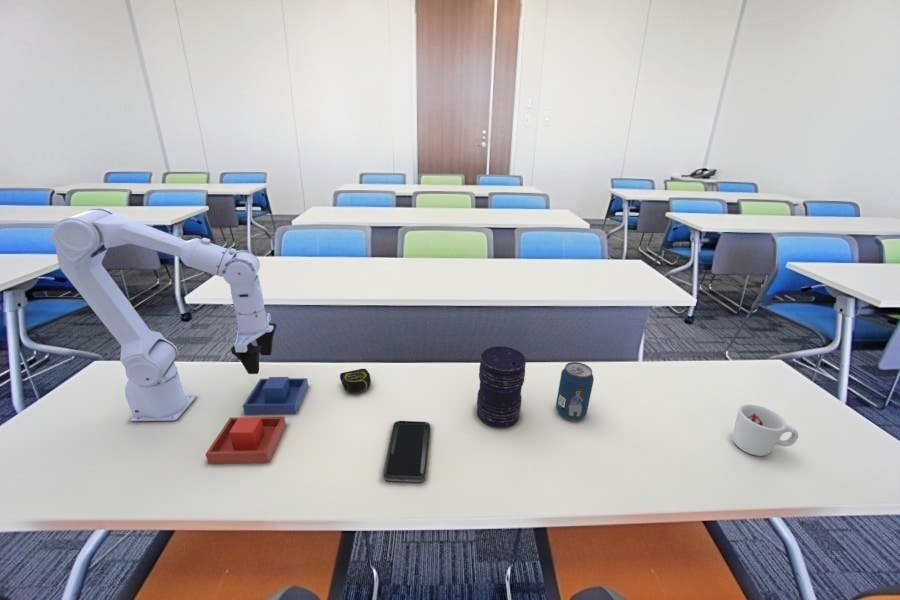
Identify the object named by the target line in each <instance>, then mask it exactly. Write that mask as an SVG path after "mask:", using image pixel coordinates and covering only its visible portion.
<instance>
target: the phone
mask: <svg viewBox="0 0 900 600" xmlns="http://www.w3.org/2000/svg"><path fill="white" fill-rule="evenodd" d="M430 433H431V424H430V422H428V421H417V420H413V421H412V420H397V421H394V423H393V426H392V431H391V434H390V439H389V444H388V448H387V453H386V457H385V462H384V466H383V471H382V474H383V475H382V476H383V479H384V481H386V482H395V483H398V482H400V483H422V482H424V481H425V479H426V475H427V464H428V455H429V454H428V453H429V446H430V445H429V442H430V435H431V434H430Z"/></svg>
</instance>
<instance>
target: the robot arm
mask: <svg viewBox="0 0 900 600" xmlns="http://www.w3.org/2000/svg"><path fill="white" fill-rule="evenodd" d="M48 239H49V240H50V242H51V243H52V244H53V246H54V247H55V251H56V258H57V263H58V266H59V268H60V271H61V272H62V273H63V274H64V276H65V277H66V278H67V279H68V280H69V281H70V284H72V286H73V287H74V288H75V290H76V291H77V292H78V293H79V294H80V296H81V297H82V298H83V300H84V301H85V303H87V304H88V306H89V307H90V308H91V309H92V311H93V312H94V313H95V315H96V316H97V317H98V318H99V320H100V322H102V323H103V325H104V327H106V329H107V330H108V331H109V332H110V334H111V335H112V336H113V337H114V339H115V340H116V341H117V343H119V346H120V357H119V358H120V363H121V364H122V365H123V366H124V369H125V376H126V377H127V382H126V384H125V388H124V395H125V398H126V402H127V404H128V407H129V409H130V413H131V415H132V417H131V418H130V421H131V422H171V421H172V422H174V421H177V420H178V419H179V418H180V417H181V416H182V414H184V412H185V411H186V410H187V409H188V407H189V406H190V405H191V404H192V403H193V401H194V400H195V399H196V397H195V395H186V394H185V392H184V389H183V385H182V381H181V378H180V374H179V372H178V368H177V366H176V364H175V360H176V359H177V357H178V355H179V354H178V353H179V352H178V348H177V346H176V345H175V344H174V343H173V342H172V341H170V340H168V339H166V338H165V337H164V336H163V334H162V333H161V332H160V331H155V330H151V329H150V328H149V327H148V326H147V324H146V323H145V321H144V319H142V317H141V316H140V315H139V313H138V312H137V311H136V309H135V308H134V306H133V305H132V303H131V302H130V301H129V300H128V298H127V297H126V295H125V294H124V293H123V291H122V290H121V289H120V287H119V286H118V285H117V283H116V282H115V280H114V279H113V278H112V276H111V275H110V274H109V272H108V271H107V270H106V268H105V267H104V265H103V264H102V263H103V260H104V258H105V255H106V253H107V251H108V249H110V248H115V247H118V246H119V247H120V246H124V245H134V246H138V247H141V248H146V249H149V250H152V251H156V252H160V253H164V254H167V255H170V256H175V257H177V258H180V260H181V261H182V262H183V264H184V266H186V267H190V268H192V269H196V270H199V271H201V272H205V273H208V274H212V275H214V276H218V277H221V278H223V279H224V280H225V282H226V283H227V284H228V285H229V287H230V294H231V300H232V303H233V309H234V314H235V319H236V324H237V333H236V341H235V342H234V344H233V345H232V346H231V348H230V351H231V354H232V355H233V356H234V357H236V358H237V359H238V360H239V361H240V362H241V364H242V365H243V368H244V369H245V371H246V373H247V374H248V375H258V374H259V373H260V355H261V356H271V355H272V351H273V341H274V336H275V332H276V329H277V324H276V323H274V322H271V321H272V316H271V313H270V312H266V307H265V302H264V296H263V290H262V286H261V281H260V277H259V275H258V273H259V272H260V266H261V265H260V264H261V263H260V260H259V258H258V257H257V256H256V255H255V254H253V253H251V252H250V251H249V250H246V249H241V250H237V249H236V248H233V247H232V248H228V247H223V246H221V245H219V244H215V243H212V242H211V239H210V238H207V237H203V238H201V239H200V238H198V237H197V238H193V239H190V240H185V239H182V238H180V237H177V236H176V235H172V234H170V233H168V232H165V231H163V230H160V229H158V228H155V227H152V226H149V225H147V224H144V223H141V222H139V221H137V220H134V219H132V218H130V217H129V216H127V215H125V214H124V213H119V212H113V211H111V210H110V209H106V208H104V207H103V208H102V207H93V208H90V209H88V210H87V211H84V212H81V213H79V214H76V215H73V216H70V217H65V218H62V219H60V220H59V221H57V222H56V224H55V225H54V227H53V229H52V231H51V232H50V235H49V237H48ZM254 341H255V342H256V345H254V343H253V344H252V342H254Z"/></svg>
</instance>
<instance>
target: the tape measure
mask: <svg viewBox="0 0 900 600" xmlns="http://www.w3.org/2000/svg"><path fill="white" fill-rule="evenodd" d="M339 379H340V382H341V384H342V387H343V389H344V391H346V392H348V393H350V394H358V393H363V392H364V391H366V390H368V389H369V388H370V387H371V381H372V380H371V374H370V372H369V371H368V370H367V369H366V368H358V369H354V370H349V371H344V372H340V374H339Z"/></svg>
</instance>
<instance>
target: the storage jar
mask: <svg viewBox="0 0 900 600" xmlns="http://www.w3.org/2000/svg"><path fill="white" fill-rule="evenodd" d="M526 365H527V358H526V356H525V355H524V354H523V353H522V352H521V351H519V350H517V349H516V348H512V347H509V346H492V347H491V346H490V347H488V348H486V349H484V350H483V351H482V352H481V354H480V362H479V370H478V371H479V373H478V378H479V388H478V391H477V398H476V405H477V406H476V415H477V418H478V419H479V421H480V422H481V423H482V424H483V425H486V426H488V427H491V428H494V429H508V428H511V427H513V426H515V425H516V424H517V423H518V421H519V419H520V412H521V408H522V389H523V388H522V387H523V386H524V383H525V377H526Z"/></svg>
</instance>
